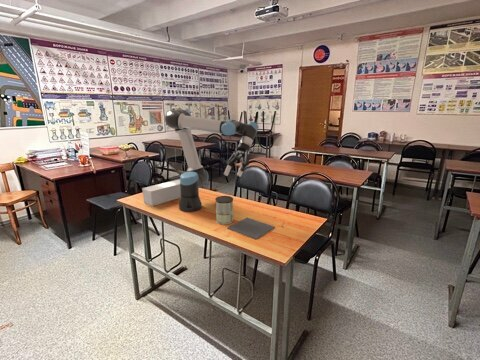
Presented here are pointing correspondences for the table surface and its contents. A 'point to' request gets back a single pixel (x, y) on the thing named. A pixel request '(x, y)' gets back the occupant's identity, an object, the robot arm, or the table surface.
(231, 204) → the coffee can
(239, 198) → the table surface
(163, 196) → the long grey foam block
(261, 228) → the rubber mat
